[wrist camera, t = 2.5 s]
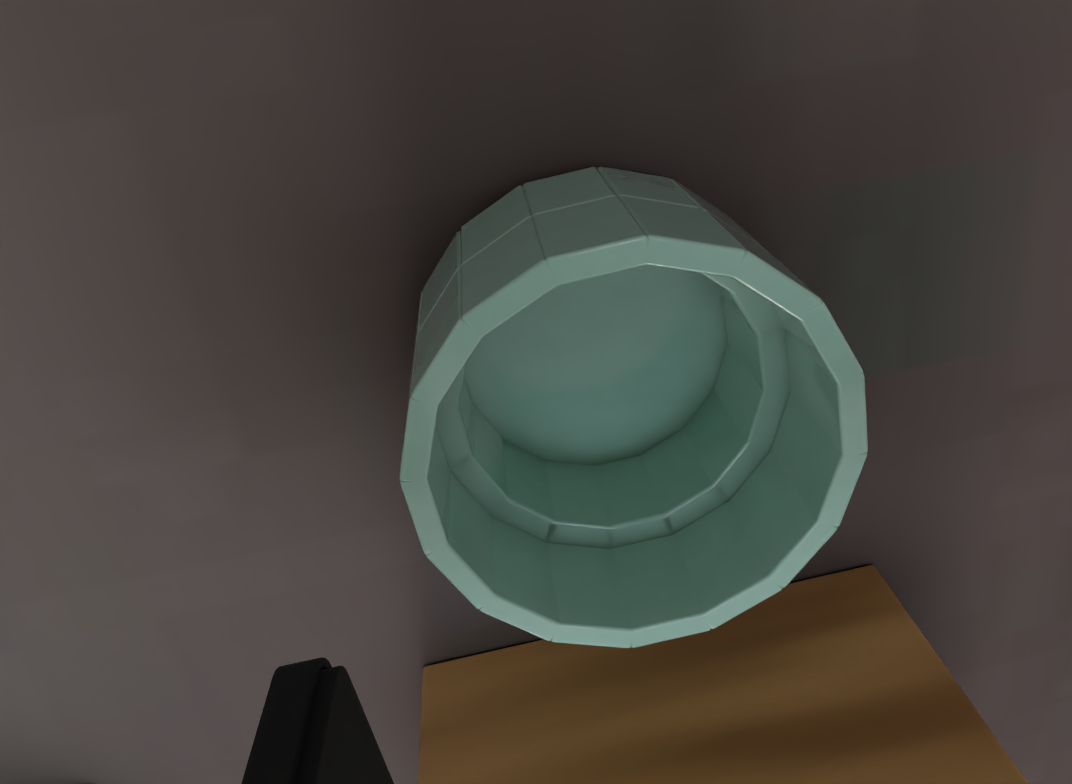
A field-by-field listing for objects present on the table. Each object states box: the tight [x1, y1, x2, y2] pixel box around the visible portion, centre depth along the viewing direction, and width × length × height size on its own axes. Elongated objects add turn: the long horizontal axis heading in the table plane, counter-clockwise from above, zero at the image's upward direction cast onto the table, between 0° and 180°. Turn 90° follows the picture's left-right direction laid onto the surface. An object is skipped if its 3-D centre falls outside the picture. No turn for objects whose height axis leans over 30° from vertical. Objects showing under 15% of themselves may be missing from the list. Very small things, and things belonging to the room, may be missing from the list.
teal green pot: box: [399, 167, 868, 648], centre depth 16 cm, size 8×8×6 cm
